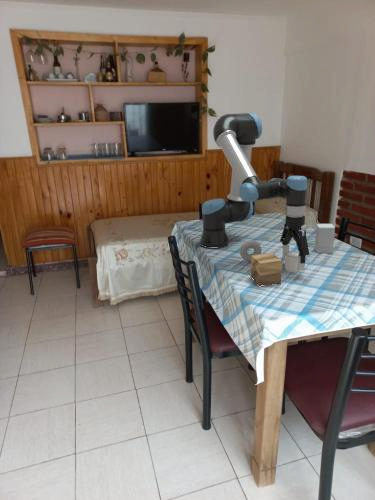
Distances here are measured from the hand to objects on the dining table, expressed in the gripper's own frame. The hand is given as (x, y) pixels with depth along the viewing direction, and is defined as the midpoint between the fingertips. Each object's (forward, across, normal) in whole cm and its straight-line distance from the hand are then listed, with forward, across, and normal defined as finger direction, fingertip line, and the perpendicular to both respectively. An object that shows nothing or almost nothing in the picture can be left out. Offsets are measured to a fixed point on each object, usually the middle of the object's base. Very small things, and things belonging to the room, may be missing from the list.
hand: (293, 264), depth 148 cm
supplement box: (+3, +17, -25) cm, 30 cm away
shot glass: (+3, 0, 0) cm, 3 cm away
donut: (+2, +15, +13) cm, 20 cm away
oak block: (-2, -7, +15) cm, 17 cm away
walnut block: (+3, -7, +15) cm, 17 cm away
